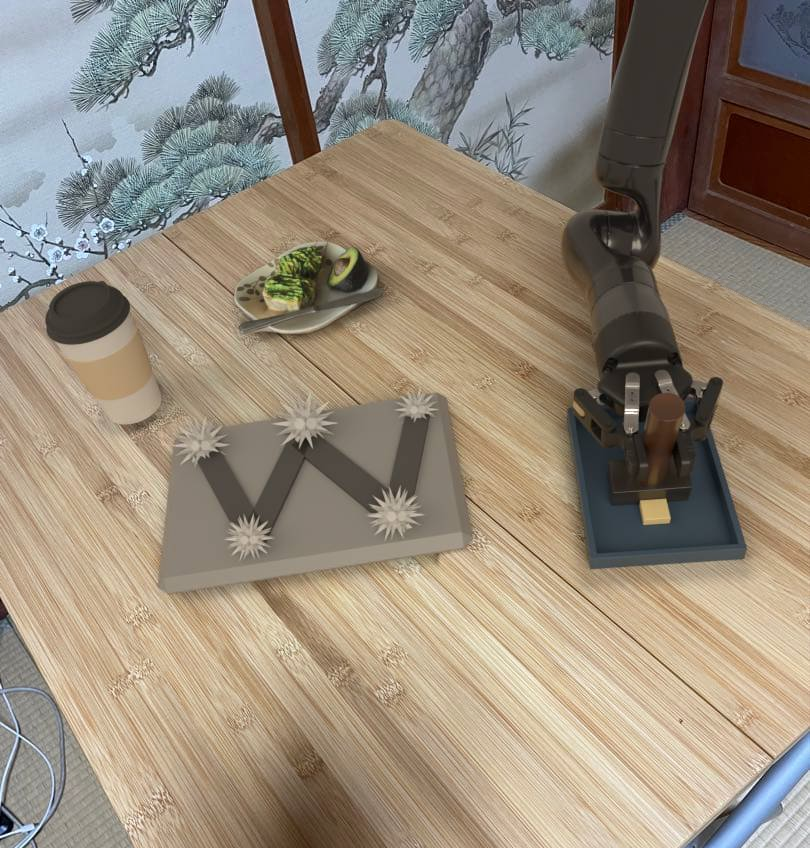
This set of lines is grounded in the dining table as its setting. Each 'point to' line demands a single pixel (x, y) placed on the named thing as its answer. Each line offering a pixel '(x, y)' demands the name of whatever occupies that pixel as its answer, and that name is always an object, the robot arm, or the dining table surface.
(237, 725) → the dining table surface
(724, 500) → the tray
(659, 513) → the crumb
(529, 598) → the dining table surface
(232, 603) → the dining table surface
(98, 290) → the coffee cup
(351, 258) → the avocado toast plate
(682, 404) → the wooden peg on stand
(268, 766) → the dining table surface
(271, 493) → the constellation board
